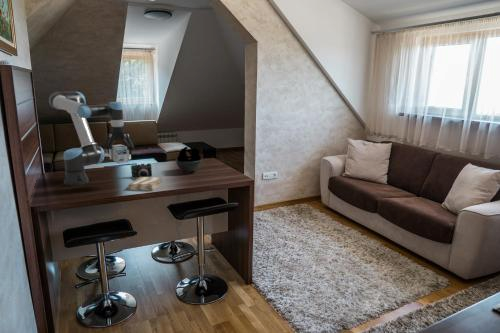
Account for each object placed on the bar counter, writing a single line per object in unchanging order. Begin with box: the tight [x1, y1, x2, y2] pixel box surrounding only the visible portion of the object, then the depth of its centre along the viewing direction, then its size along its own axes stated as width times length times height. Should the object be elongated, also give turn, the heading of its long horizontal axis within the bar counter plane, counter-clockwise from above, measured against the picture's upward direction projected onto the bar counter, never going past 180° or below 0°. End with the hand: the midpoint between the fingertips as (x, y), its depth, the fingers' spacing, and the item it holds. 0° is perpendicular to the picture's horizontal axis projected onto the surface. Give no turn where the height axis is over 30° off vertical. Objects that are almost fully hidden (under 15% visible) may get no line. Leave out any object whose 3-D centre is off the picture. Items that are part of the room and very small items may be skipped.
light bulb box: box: [111, 144, 129, 164], centre depth 223 cm, size 11×7×11 cm, turn 41°
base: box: [127, 176, 163, 192], centre depth 228 cm, size 16×18×4 cm
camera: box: [130, 162, 153, 179], centre depth 247 cm, size 14×11×10 cm
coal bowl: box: [175, 146, 203, 173], centre depth 264 cm, size 20×20×19 cm
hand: (120, 159), depth 224 cm, fingers closed on light bulb box, 12 cm apart
